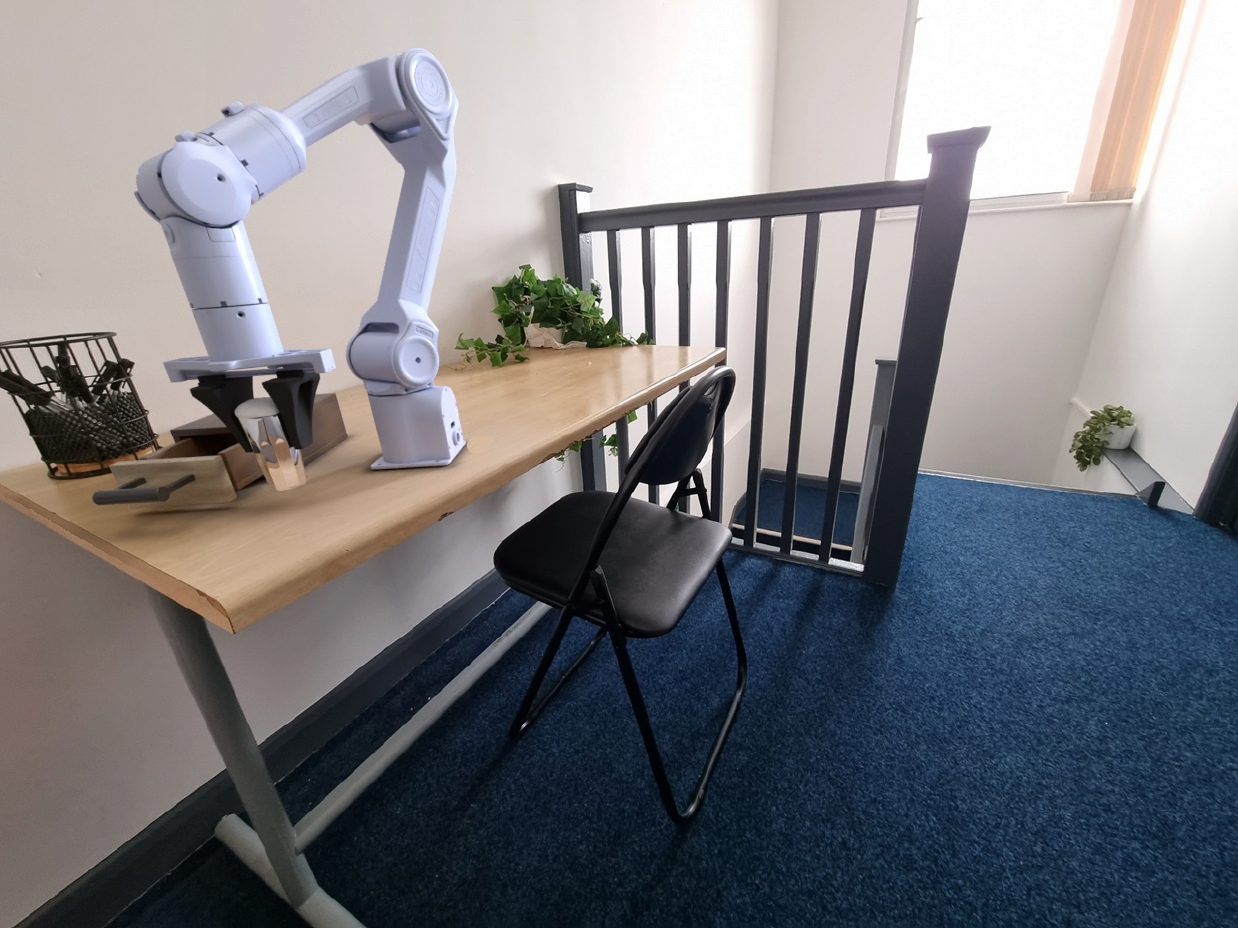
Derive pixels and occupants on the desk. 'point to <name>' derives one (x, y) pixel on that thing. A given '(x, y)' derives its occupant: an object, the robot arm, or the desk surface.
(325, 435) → the cabinet
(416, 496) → the desk surface
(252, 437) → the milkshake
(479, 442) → the desk surface
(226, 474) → the drawer
